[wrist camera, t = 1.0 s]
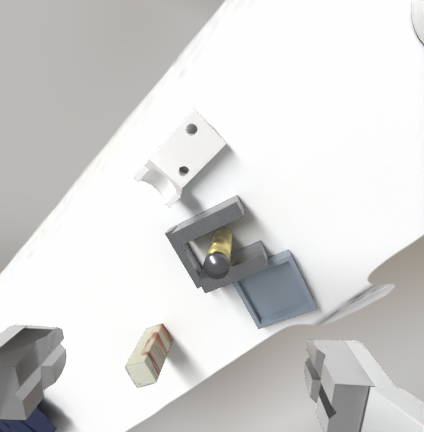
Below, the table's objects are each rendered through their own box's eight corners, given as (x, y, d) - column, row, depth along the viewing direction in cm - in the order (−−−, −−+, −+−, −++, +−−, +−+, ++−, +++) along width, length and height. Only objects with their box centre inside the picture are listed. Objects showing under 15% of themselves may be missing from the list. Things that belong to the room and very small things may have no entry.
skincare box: (173, 340, 52) (157, 384, 42) (156, 345, 52) (136, 389, 43) (162, 321, 51) (144, 361, 41) (145, 327, 51) (123, 367, 42)
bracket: (173, 191, 44) (169, 207, 37) (143, 165, 41) (132, 177, 35) (223, 140, 40) (229, 148, 34) (194, 108, 38) (193, 109, 31)
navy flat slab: (38, 461, 67) (26, 476, 64) (-38, 395, 70) (-55, 407, 66) (68, 413, 60) (56, 428, 57) (-19, 342, 63) (-35, 352, 59)
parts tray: (288, 249, 43) (291, 255, 40) (313, 300, 45) (317, 308, 42) (231, 272, 45) (231, 279, 43) (257, 320, 47) (258, 329, 45)
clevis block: (237, 195, 41) (236, 201, 36) (266, 252, 43) (270, 267, 38) (170, 228, 45) (159, 239, 39) (200, 279, 47) (194, 297, 41)
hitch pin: (227, 225, 43) (221, 251, 32) (235, 241, 44) (233, 273, 32) (210, 233, 44) (198, 261, 32) (218, 249, 45) (210, 283, 33)
